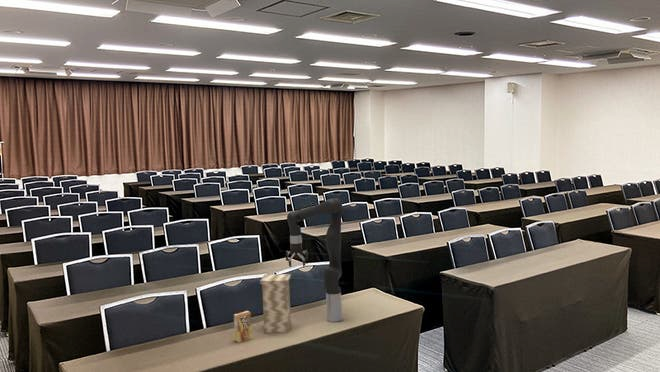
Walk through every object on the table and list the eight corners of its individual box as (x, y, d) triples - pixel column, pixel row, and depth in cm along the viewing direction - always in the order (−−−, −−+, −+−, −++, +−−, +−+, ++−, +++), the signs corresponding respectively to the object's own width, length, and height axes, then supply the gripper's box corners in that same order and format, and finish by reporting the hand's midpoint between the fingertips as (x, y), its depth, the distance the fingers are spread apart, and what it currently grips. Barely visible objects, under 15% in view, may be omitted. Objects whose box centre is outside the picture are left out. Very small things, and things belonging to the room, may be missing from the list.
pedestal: (293, 324, 307) (290, 274, 304) (289, 332, 293) (287, 280, 291) (267, 324, 308) (264, 274, 306) (262, 333, 294) (259, 280, 292)
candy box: (248, 336, 290) (247, 310, 288) (252, 338, 286) (250, 312, 285) (234, 340, 284) (233, 314, 283) (238, 342, 281) (237, 316, 280)
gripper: (284, 243, 322) (285, 268, 324) (306, 242, 321) (307, 267, 323) (286, 241, 330) (287, 265, 331) (307, 240, 329) (308, 265, 330)
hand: (297, 266), depth 327 cm, fingers open, 8 cm apart
